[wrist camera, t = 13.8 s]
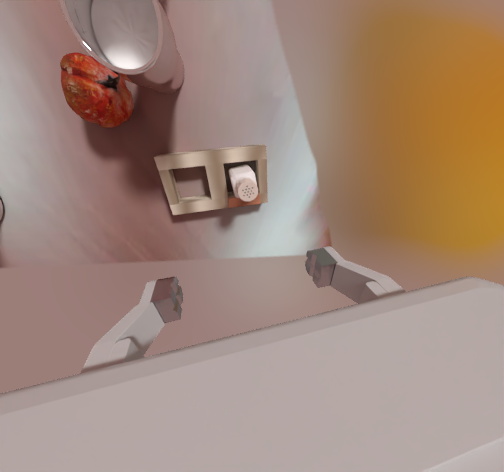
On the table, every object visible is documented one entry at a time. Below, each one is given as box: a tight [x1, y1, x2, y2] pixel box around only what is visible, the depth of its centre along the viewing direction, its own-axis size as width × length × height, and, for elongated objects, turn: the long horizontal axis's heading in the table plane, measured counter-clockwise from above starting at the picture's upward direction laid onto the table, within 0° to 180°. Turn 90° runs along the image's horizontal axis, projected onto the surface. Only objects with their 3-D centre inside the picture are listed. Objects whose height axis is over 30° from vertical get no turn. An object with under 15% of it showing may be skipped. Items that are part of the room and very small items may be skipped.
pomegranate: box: [60, 53, 134, 128], centre depth 24 cm, size 7×7×10 cm
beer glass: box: [59, 0, 184, 94], centre depth 19 cm, size 7×7×15 cm
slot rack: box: [154, 144, 268, 215], centre depth 33 cm, size 18×10×3 cm, turn 94°
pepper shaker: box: [228, 164, 258, 201], centre depth 32 cm, size 4×4×10 cm
